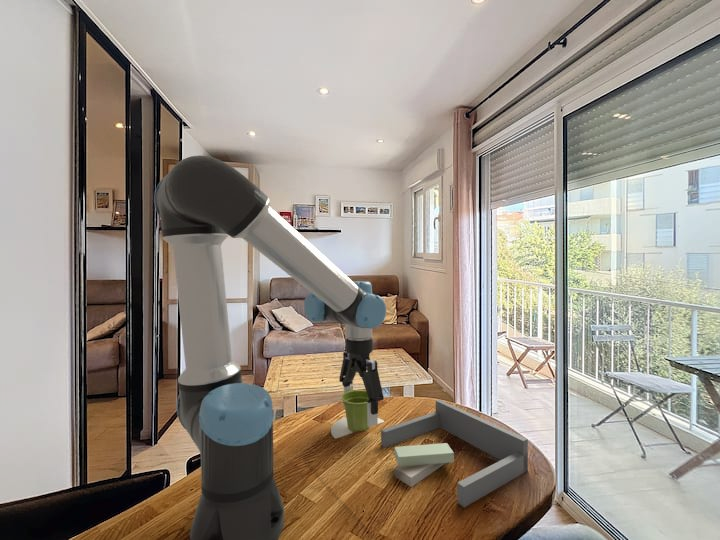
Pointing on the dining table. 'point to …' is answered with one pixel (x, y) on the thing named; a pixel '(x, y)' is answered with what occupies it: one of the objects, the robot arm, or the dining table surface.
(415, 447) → the offcut top
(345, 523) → the dining table surface
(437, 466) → the block
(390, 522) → the dining table surface
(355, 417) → the plant pot
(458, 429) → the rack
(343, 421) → the mat
